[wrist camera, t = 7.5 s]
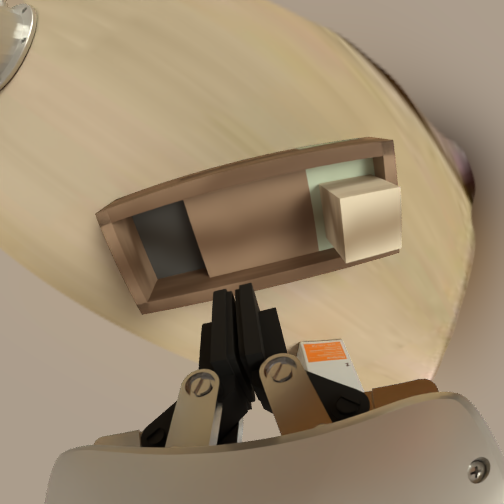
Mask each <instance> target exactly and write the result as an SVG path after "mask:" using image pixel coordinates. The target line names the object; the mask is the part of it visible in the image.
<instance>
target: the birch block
mask: <svg viewBox="0 0 504 504" xmlns="http://www.w3.org/2000/svg"><path fill="white" fill-rule="evenodd" d="M319 190H320V197H321V203H322V210H323V217H324V225H325V233H326V238H327V239H328V241H329V242H330V243H331V244H332V246H333V247H334V248H335V250H336V251H337V252H338V254H339V255H340V256H341V257H342V259H343V260H344V261H345V263H349V262H353V261H357V260H360V259H364V258H368V257H371V256H375V255H379V254H382V253H386V252H389V251H393V250H397V249H400V248H402V207H401V187H400V186H397V185H395V184H393V183H391V182H388V181H386V180H383V179H381V178H379V177H376V176H374V175H371V174H369V175H363V176H357V177H352V178H346V179H341V180H336V181H330V182H325V183H320V184H319Z"/></svg>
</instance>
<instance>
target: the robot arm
mask: <svg viewBox="0 0 504 504" xmlns="http://www.w3.org/2000/svg"><path fill="white" fill-rule="evenodd" d="M36 23H37V14H36V11H35V9H34V8H33V7H32V6H30V5H27V4H19V5H16V6H14V7H12V8H8V4H7V3H6V0H0V89H1V88H3V87H4V86H5V85H6V84H7V83H8V81H9V80H10V79H11V78H12V76H13V75H14V74H15V72H16V71H17V69H18V68H19V66H20V65H21V63H22V61H23V59H24V57H25V56H26V54H27V52H28V49H29V47H30V45H31V42H32V39H33V36H34V33H35V29H36ZM235 300H236V302H235ZM254 391H255V392H254ZM255 393H256V395H257V397H258V400H260V401H261V404H262V406H263V408H264V409H265V410H267V411H269V412H271V413H273V414H274V417H275V420H276V422H277V425H278V428H279V430H280V433H281V436H278V437H273V438H267V439H261V440H255V441H248V442H242V432H243V418H242V417H243V416H244V415H245V414H246V413H247V412H248V410H250V409H252V407H251V402H254V401H255ZM45 504H504V456H503V454H502V452H501V450H500V447H499V445H498V443H497V441H496V439H495V437H494V435H493V434H492V431H491V430H490V428H489V426H488V425H487V423H486V421H485V420H484V418H483V417H482V415H481V414H480V412H479V411H478V410H477V408H476V407H475V406H474V405H473V404H472V402H470V401H469V400H468V399H467V398H466V397H464V396H463V395H461V394H458V393H453V392H439V391H438V388H437V386H436V385H435V383H433V382H432V381H431V380H428V379H417V380H413V381H409V382H404V383H399V384H394V385H389V386H384V387H378V388H372V391H368V392H362V391H360V390H358V389H355V388H352V387H349V386H346V385H343V384H341V383H338V382H335V381H332V380H330V379H327V378H324V377H322V376H319V375H317V374H314V373H312V372H309V371H307V370H305V369H304V368H303V366H302V364H301V362H300V360H299V359H298V358H297V357H295V356H294V355H291V354H287V350H286V346H285V342H284V338H283V334H282V330H281V326H280V323H279V319H278V315H277V311H276V307H275V308H271V309H267V310H263V311H260V310H259V306H258V303H257V300H256V296H255V293H254V289H253V286H252V283H247V284H243V285H239V289H236V290H235V299H234V296H233V293H232V291H228V292H227V289H222V290H218V291H214V292H213V306H212V322H210V323H205V324H203V325H202V331H201V344H200V357H199V370H196V371H194V372H191V373H190V374H189V375H187V377H186V378H185V379H184V380H183V382H182V384H181V388H180V392H179V395H178V399H177V401H176V402H175V403H174V404H173V405H172V406H170V407H169V408H168V409H167V410H166V411H165V412H163V413H162V414H161V415H160V416H159V417H158V418H157V419H155V420H154V421H153V422H152V423H151V424H149V425H148V426H147V427H146V428H145V429H144V431H142V432H141V431H139V430H136V431H131V432H125V433H120V434H115V435H109V436H103V437H100V438H98V439H97V440H96V441H95V443H94V445H87V446H81V447H76V448H73V449H70V450H68V451H65V452H64V453H62V454H61V455H60V456H59V457H58V458H57V460H56V462H55V464H54V466H53V469H52V472H51V475H50V479H49V483H48V488H47V493H46V498H45Z"/></svg>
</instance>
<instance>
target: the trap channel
mask: <svg viewBox="0 0 504 504" xmlns="http://www.w3.org/2000/svg"><path fill="white" fill-rule="evenodd" d="M369 174H371V175H374V176H376V177H379V178H381V179H383V180H386V181H388V182H391V183H393V184H395V185H397V186H398V181H397V169H396V160H395V151H394V143H393V140H388V139H381V138H374V137H364V138H356V139H349V140H342V141H336V142H329V143H323V144H317V145H312V146H306V147H301V148H296V149H291V150H286V151H281V152H276V153H271V154H267V155H262V156H258V157H254V158H250V159H245V160H241V161H237V162H233V163H230V164H226V165H222V166H218V167H215V168H211V169H207V170H204V171H200V172H197V173H193V174H190V175H187V176H183V177H180V178H177V179H174V180H171V181H168V182H164V183H161V184H158V185H155V186H152V187H150V188H147V189H144V190H141V191H138V192H135V193H132V194H130V195H127V196H124V197H122V198H119V199H116V200H115V201H113V202H112V203H110V204H109V205H107V206H106V207H104V208H103V209H102V210H100V211H99V212H97V213H96V214H95V215H96V217H97V220H98V222H99V225H100V227H101V230H102V232H103V235H104V237H105V239H106V242H107V244H108V246H109V249H110V251H111V253H112V256H113V258H114V260H115V262H116V264H117V266H118V269H119V271H120V273H121V275H122V277H123V279H124V281H125V283H126V285H127V287H128V289H129V291H130V293H131V295H132V297H133V299H134V301H135V303H136V304H137V306H138V308H139V310H140V312H141V314H148V313H153V312H158V311H163V310H168V309H174V308H179V307H183V306H188V305H193V304H198V303H203V302H207V301H212V300H213V292H214V291H218V290H222V289H227V292H228V291H232V293H233V296H235V290H236V289H239V285H243V284H247V283H252V286H253V289H254V291H257V290H261V289H265V288H269V287H273V286H277V285H282V284H286V283H290V282H294V281H298V280H302V279H306V278H310V277H313V276H317V275H321V274H325V273H329V272H332V271H336V270H340V269H344V268H347V267H351V266H355V265H358V264H362V263H365V262H369V261H372V260H376V259H379V258H383V257H386V256H390V255H393V254H396V253H399V249H397V250H393V251H389V252H386V253H382V254H379V255H375V256H371V257H368V258H364V259H360V260H357V261H353V262H349V263H345V261H344V260H343V259H342V257H341V256H340V255H339V254H338V252H337V251H336V250H335V248H334V247H333V246H332V244H331V243H330V242H329V241H328V239H327V238H326V233H325V225H324V217H323V210H322V203H321V197H320V190H319V184H320V183H325V182H330V181H336V180H341V179H346V178H352V177H357V176H363V175H369Z"/></svg>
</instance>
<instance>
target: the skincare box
mask: <svg viewBox="0 0 504 504" xmlns="http://www.w3.org/2000/svg"><path fill="white" fill-rule="evenodd" d="M297 358H298V359H299V360H300V362H301V364H302V366H303V368H304V369H305V370H307V371H309V372H312V373H314V374H317V375H319V376H322V377H324V378H327V379H330V380H332V381H335V382H338V383H341V384H343V385H346V386H349V387H352V388H355V389H358V390H360V391H362V392H364V390H363V387H362V385H361V382H360V380H359V378H358V375H357V373H356V370H355V368H354V366H353V363H352V361H351V358H350V356H349V354H348V352H347V349H346V347H345V345H344V342H343V340H342V339H340V340H330V341H314V342H300V343H299V348H298V353H297Z"/></svg>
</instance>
